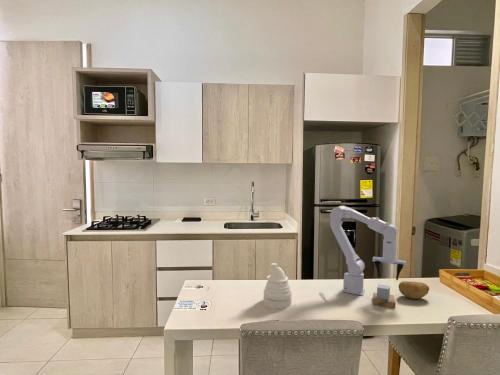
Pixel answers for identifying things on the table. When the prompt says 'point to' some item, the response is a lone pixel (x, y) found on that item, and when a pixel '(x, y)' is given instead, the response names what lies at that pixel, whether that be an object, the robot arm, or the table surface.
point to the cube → (383, 292)
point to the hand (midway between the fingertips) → (388, 278)
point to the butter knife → (323, 297)
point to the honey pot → (277, 290)
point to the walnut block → (384, 301)
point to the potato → (413, 289)
